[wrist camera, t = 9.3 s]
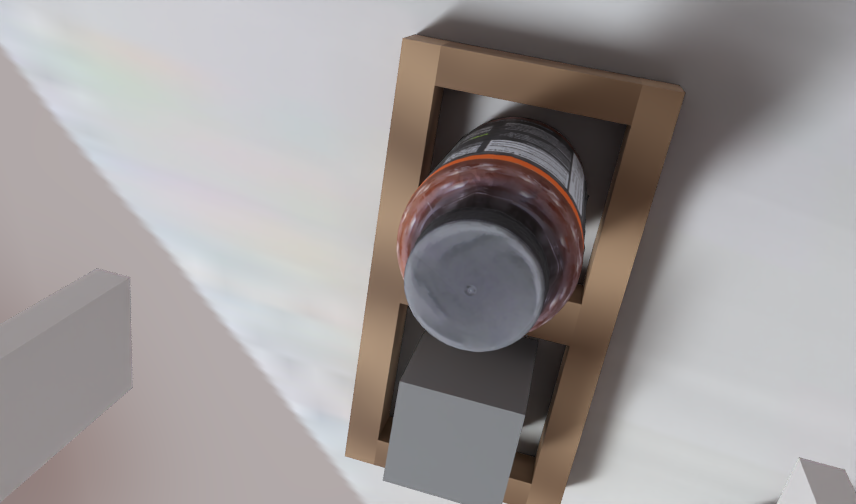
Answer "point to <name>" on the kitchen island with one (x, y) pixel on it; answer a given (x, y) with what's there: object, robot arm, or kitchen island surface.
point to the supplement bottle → (495, 235)
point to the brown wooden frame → (610, 259)
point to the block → (460, 420)
